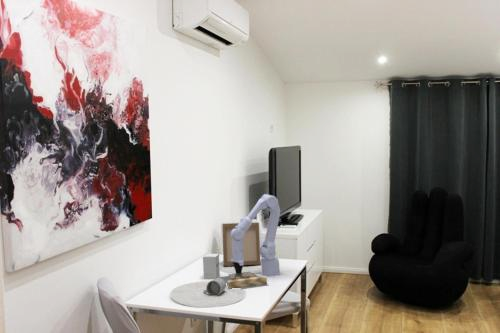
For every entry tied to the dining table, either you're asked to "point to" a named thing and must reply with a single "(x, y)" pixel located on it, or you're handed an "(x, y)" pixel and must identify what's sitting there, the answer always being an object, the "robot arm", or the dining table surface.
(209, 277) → the supplement box
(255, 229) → the photo frame
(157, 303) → the dining table surface
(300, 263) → the dining table surface
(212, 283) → the ceramic mug
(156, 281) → the dining table surface
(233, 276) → the grey flat piece
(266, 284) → the bench mat
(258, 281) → the bench fence
